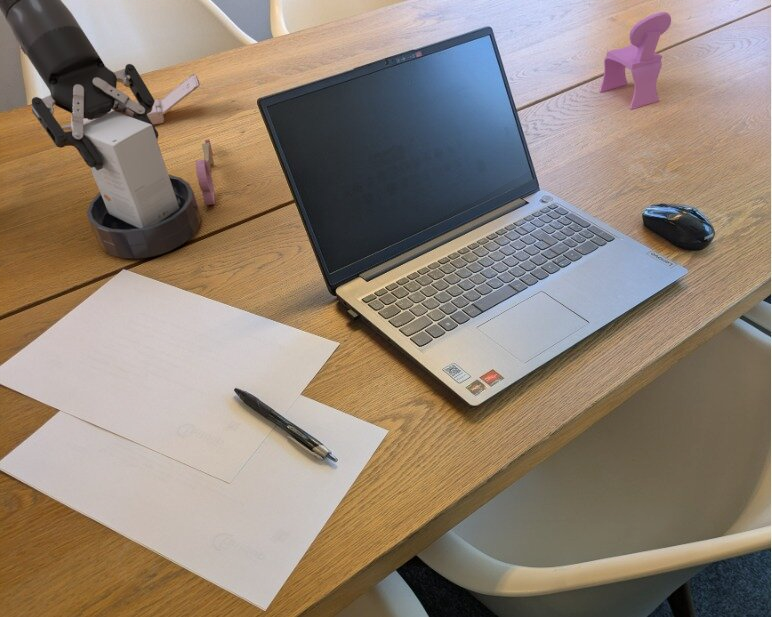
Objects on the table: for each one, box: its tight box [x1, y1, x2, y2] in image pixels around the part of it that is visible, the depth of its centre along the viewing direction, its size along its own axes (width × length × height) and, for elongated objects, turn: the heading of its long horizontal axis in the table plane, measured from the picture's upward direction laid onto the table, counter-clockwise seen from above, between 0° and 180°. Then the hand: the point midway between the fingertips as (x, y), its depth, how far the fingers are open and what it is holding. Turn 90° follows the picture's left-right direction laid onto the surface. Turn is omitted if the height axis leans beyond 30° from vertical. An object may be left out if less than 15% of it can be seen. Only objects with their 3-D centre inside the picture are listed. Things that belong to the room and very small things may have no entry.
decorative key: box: [195, 139, 216, 206], centre depth 103 cm, size 7×1×20 cm
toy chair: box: [599, 11, 672, 110], centre depth 113 cm, size 8×9×15 cm
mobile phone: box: [61, 73, 201, 131], centre depth 117 cm, size 6×6×25 cm
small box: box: [83, 111, 179, 228], centre depth 88 cm, size 8×6×13 cm
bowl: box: [86, 174, 201, 260], centre depth 93 cm, size 14×14×5 cm
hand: (128, 155), depth 85 cm, fingers closed on small box, 7 cm apart
